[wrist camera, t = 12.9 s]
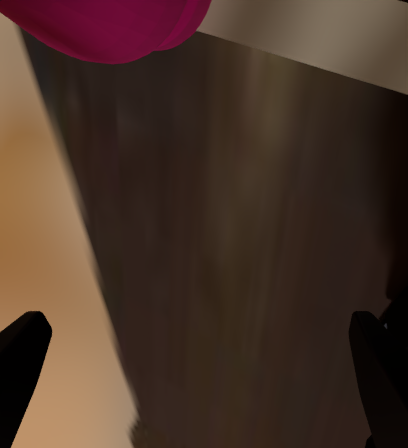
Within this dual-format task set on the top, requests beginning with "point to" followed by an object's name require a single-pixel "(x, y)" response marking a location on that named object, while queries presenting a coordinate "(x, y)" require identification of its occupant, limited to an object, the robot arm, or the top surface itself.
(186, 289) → the top surface
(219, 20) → the flat beige strip
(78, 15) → the pepper mill
